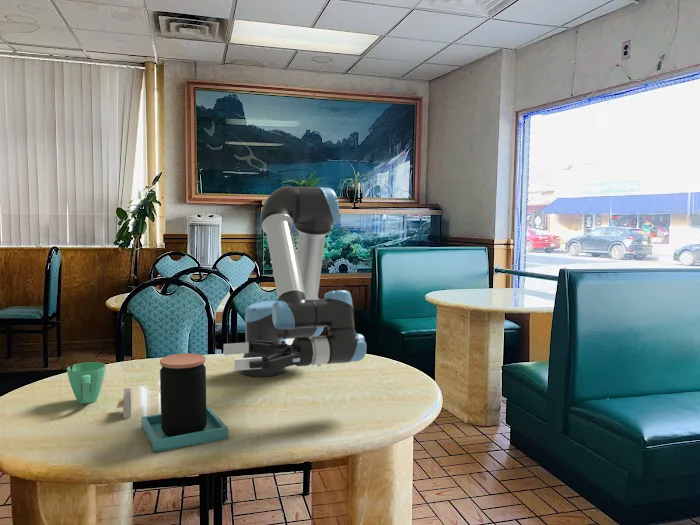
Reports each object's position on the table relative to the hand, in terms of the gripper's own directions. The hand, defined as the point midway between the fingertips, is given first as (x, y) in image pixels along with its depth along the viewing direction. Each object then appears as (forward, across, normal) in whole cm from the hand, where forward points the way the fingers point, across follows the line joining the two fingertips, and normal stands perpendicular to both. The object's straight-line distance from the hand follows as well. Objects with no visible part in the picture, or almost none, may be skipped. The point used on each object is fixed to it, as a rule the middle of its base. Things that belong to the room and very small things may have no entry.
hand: (228, 356), depth 140 cm
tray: (+11, 0, -18) cm, 21 cm away
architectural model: (+23, +18, -20) cm, 36 cm away
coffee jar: (+10, 0, -18) cm, 21 cm away
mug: (+33, +31, -20) cm, 50 cm away
